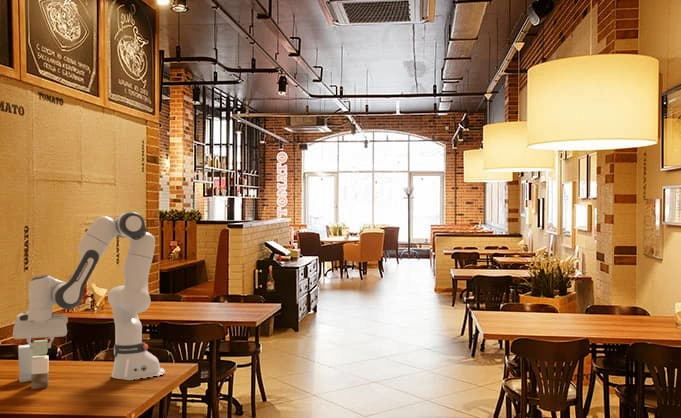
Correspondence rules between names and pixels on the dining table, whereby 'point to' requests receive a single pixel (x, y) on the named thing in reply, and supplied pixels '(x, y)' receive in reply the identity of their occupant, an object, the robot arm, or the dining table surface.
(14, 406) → the dining table surface
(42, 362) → the block top
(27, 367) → the skincare box
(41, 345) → the block small
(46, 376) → the block bottom
